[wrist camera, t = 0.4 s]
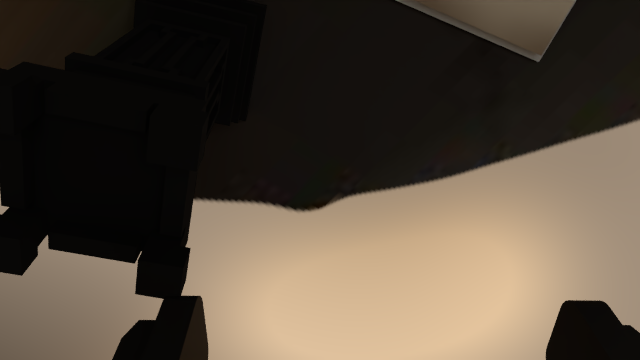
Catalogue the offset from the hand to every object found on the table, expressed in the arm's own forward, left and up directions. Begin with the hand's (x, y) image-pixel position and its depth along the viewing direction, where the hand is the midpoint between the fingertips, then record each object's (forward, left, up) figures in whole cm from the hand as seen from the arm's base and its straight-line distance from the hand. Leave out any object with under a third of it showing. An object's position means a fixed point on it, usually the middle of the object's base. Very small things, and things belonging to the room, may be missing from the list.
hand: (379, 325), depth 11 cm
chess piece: (+4, -8, -26) cm, 28 cm away
